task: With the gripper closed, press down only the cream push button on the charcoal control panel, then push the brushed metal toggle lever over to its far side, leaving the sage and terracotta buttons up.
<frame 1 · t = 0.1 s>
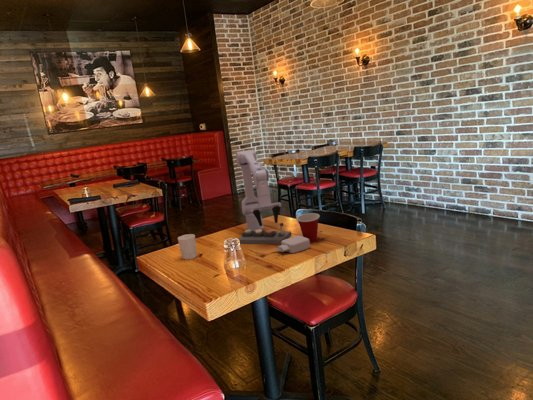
hand: (268, 224, 186), 11 cm above the table, tool pointing down, fingers open, 7 cm apart
plastic cup: (310, 241, 189), on the table
white bottle: (290, 251, 179), on the table
white cup: (189, 257, 187), on the table
toggle lever: (281, 227, 196), point 6 cm above the table, hinge at -25.0°
button terracotta: (269, 231, 197), point 4 cm above the table, slide at 0.0 cm
control panel: (264, 239, 200), on the table
button cream: (258, 231, 200), point 4 cm above the table, slide at 0.0 cm
button sage: (248, 231, 202), point 4 cm above the table, slide at 0.0 cm
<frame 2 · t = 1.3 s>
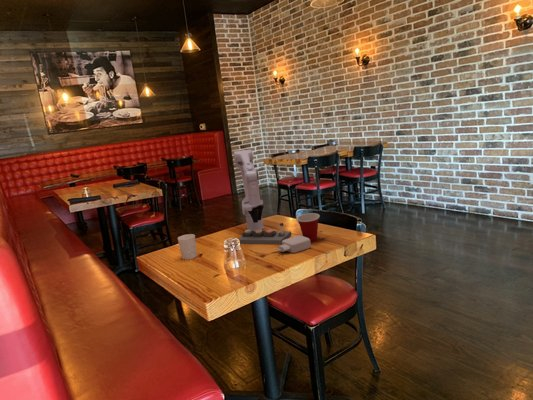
hand: (257, 221, 199), 9 cm above the table, tool pointing down, fingers open, 3 cm apart
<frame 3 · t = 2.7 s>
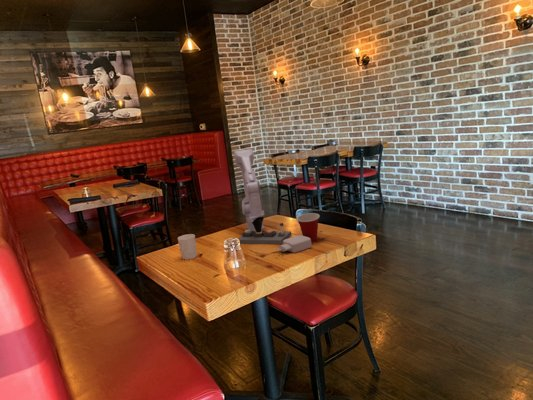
hand: (258, 232, 200), 4 cm above the table, tool pointing down, fingers closed, pressing on button cream
button cream: (259, 233, 200), point 3 cm above the table, slide at 0.9 cm, touching gripper
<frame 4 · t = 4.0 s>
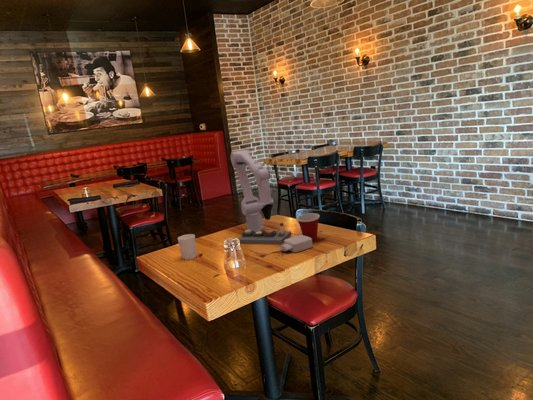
hand: (267, 219, 200), 9 cm above the table, tool pointing down, fingers closed
button cream: (259, 233, 200), point 3 cm above the table, slide at 1.0 cm
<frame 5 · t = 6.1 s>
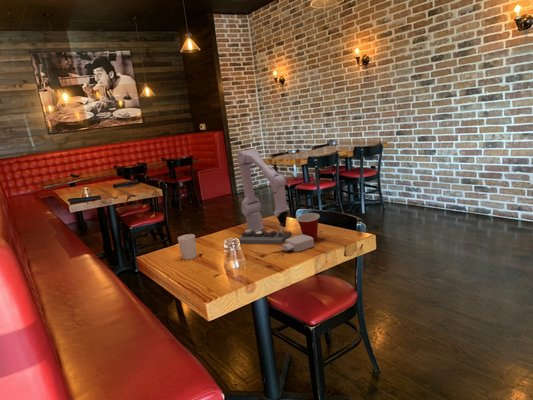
hand: (283, 226, 198), 5 cm above the table, tool pointing down, fingers closed, pressing on toggle lever
toggle lever: (281, 227, 196), point 6 cm above the table, hinge at -24.9°, touching gripper
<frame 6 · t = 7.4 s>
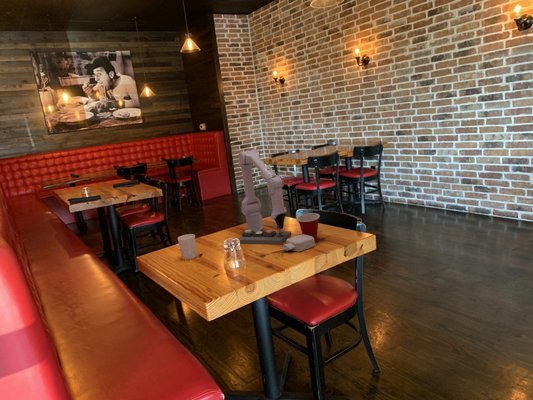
hand: (280, 228, 195), 5 cm above the table, tool pointing down, fingers closed
toggle lever: (279, 229, 193), point 6 cm above the table, hinge at 26.4°, touching gripper
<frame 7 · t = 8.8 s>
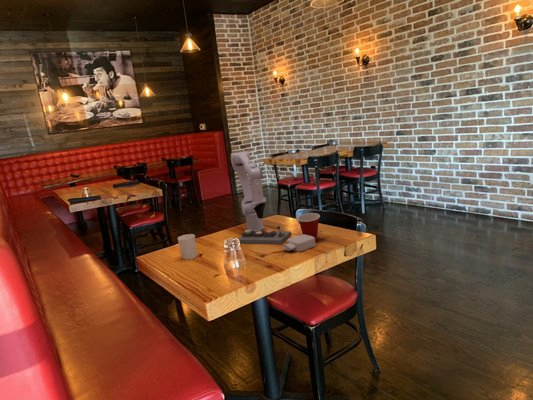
hand: (260, 218, 202), 10 cm above the table, tool pointing down, fingers closed
toggle lever: (279, 229, 193), point 6 cm above the table, hinge at 32.4°
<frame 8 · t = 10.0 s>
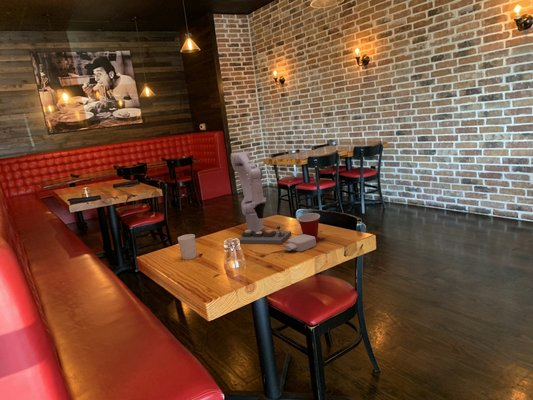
hand: (260, 218, 202), 10 cm above the table, tool pointing down, fingers closed
toggle lever: (279, 229, 193), point 6 cm above the table, hinge at 32.9°
at the end: button cream slide at 1.0 cm; toggle lever at +33° (first picture: -25°); button terracotta slide at 0.0 cm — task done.
